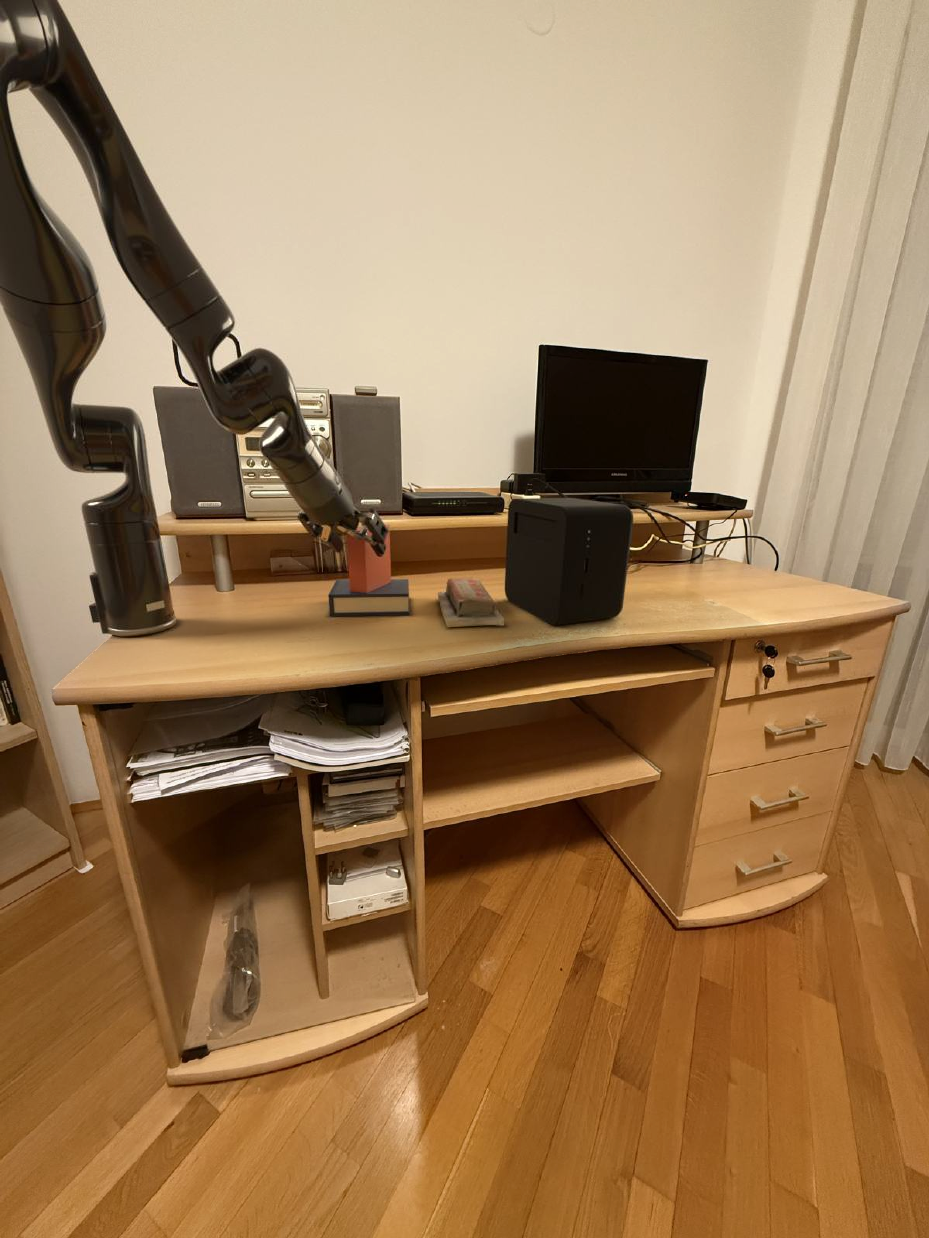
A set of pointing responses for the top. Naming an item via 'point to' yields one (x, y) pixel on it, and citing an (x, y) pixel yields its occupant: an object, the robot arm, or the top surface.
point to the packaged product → (468, 604)
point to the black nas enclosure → (567, 558)
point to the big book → (370, 599)
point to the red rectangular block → (367, 564)
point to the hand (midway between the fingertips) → (361, 550)
